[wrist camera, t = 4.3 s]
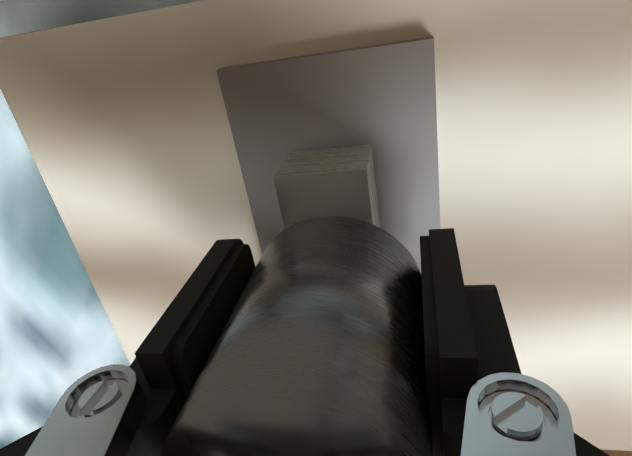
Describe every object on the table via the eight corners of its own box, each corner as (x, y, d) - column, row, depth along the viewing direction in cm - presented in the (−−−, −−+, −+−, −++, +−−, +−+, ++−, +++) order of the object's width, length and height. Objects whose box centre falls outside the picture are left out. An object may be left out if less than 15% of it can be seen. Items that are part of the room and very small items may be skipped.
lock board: (55, 30, 14) (-164, 62, 9) (717, -93, 10) (1082, -176, 5) (224, 460, 24) (170, 602, 19) (595, 486, 20) (666, 677, 15)
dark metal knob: (251, 155, 11) (91, 339, 6) (415, 139, 10) (426, 340, 5) (327, 478, 17) (287, 726, 11) (435, 486, 16) (451, 760, 11)
